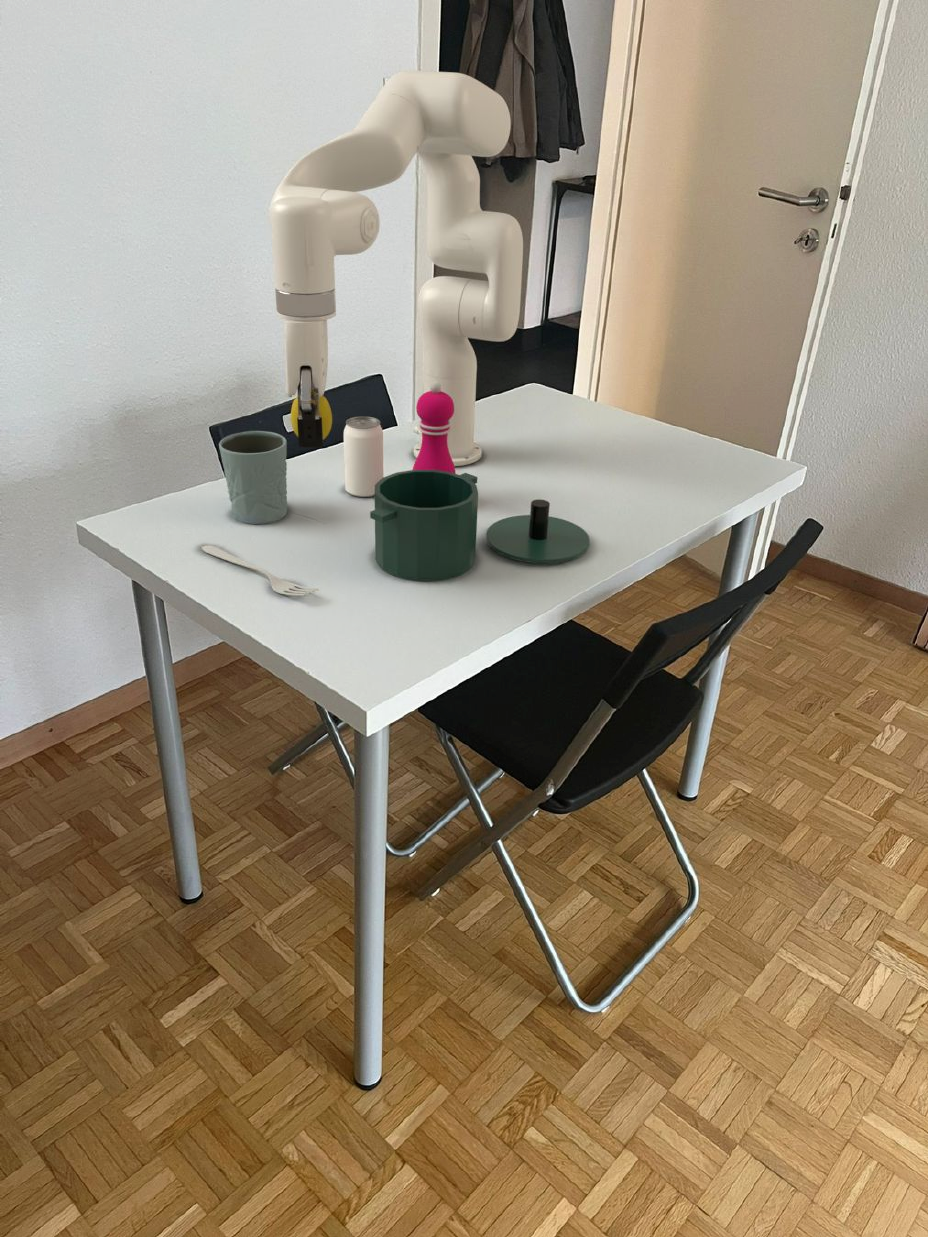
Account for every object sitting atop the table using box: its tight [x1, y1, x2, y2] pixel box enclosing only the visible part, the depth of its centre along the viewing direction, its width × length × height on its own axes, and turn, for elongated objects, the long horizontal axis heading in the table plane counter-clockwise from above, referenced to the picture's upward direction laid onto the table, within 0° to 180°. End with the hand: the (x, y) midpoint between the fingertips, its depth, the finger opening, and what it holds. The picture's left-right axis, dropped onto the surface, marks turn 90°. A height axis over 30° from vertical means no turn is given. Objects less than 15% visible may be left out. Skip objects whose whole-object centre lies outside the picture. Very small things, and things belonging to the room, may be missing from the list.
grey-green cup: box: [218, 430, 288, 525], centre depth 153 cm, size 10×10×12 cm
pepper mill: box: [412, 382, 457, 474], centre depth 157 cm, size 7×7×20 cm
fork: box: [201, 544, 320, 597], centre depth 138 cm, size 3×24×2 cm, turn 49°
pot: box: [369, 469, 479, 582], centre depth 141 cm, size 15×20×11 cm
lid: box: [485, 498, 590, 564], centre depth 148 cm, size 16×16×7 cm
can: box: [343, 416, 384, 498], centre depth 162 cm, size 6×6×12 cm
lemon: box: [290, 390, 333, 440], centre depth 132 cm, size 6×6×8 cm
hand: (312, 436), depth 134 cm, fingers closed on lemon, 5 cm apart
